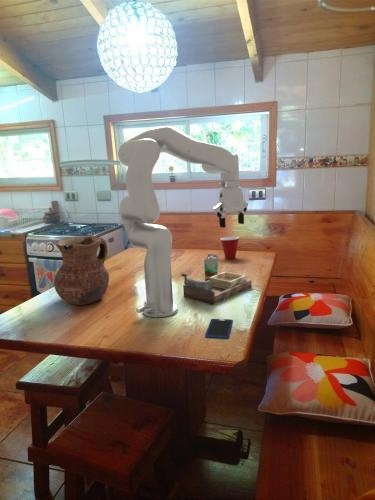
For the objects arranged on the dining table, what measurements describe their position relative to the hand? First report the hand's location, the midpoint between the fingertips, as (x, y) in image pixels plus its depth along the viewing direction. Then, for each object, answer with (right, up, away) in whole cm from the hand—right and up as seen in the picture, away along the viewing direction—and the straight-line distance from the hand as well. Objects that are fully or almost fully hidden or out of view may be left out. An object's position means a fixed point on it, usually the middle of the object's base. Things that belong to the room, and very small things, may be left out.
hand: (232, 225), depth 152 cm
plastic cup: (+5, -15, +53) cm, 55 cm away
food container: (-7, -23, +17) cm, 30 cm away
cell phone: (-9, -36, -38) cm, 53 cm away
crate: (-2, -25, +1) cm, 25 cm away
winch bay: (-6, -28, -4) cm, 29 cm away
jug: (-61, -31, -5) cm, 69 cm away
